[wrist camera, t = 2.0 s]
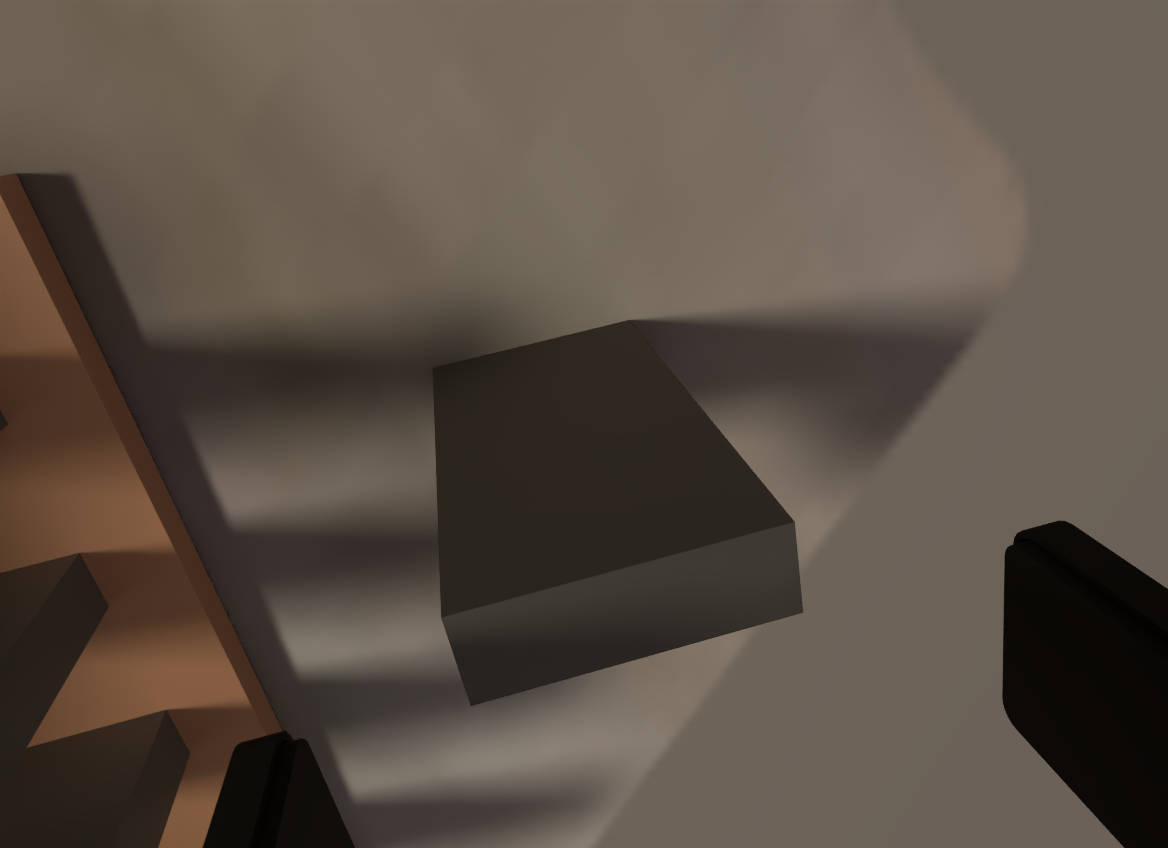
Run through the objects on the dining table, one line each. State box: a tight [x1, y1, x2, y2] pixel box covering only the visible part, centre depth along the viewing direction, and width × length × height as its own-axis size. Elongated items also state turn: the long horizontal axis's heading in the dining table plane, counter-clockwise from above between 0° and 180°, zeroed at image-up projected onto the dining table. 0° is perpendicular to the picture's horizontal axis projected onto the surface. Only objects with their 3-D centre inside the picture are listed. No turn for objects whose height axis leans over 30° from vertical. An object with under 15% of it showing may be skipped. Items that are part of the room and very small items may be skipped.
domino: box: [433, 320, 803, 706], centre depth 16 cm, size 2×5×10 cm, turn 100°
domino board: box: [0, 174, 282, 848], centre depth 21 cm, size 26×9×1 cm, turn 11°
